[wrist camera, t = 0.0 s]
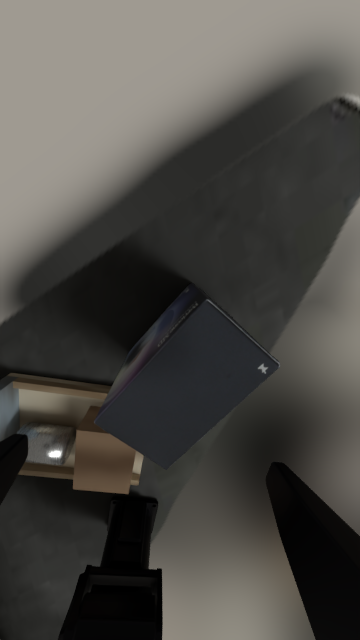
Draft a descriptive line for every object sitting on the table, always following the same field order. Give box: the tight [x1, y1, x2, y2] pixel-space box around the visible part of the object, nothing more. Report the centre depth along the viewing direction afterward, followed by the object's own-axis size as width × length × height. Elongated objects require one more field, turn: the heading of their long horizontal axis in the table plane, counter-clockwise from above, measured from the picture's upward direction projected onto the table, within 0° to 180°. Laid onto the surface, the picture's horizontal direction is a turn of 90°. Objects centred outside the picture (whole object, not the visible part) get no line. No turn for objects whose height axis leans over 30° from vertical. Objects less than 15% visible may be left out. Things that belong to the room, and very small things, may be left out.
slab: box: [73, 406, 136, 494], centre depth 22 cm, size 8×6×4 cm
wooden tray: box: [0, 373, 143, 485], centre depth 22 cm, size 13×22×4 cm, turn 79°
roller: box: [16, 422, 76, 465], centre depth 22 cm, size 4×5×4 cm
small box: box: [94, 283, 280, 470], centre depth 17 cm, size 11×6×10 cm, turn 139°
